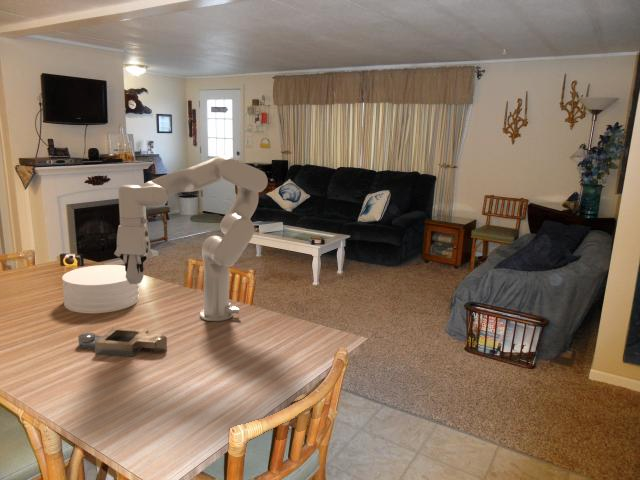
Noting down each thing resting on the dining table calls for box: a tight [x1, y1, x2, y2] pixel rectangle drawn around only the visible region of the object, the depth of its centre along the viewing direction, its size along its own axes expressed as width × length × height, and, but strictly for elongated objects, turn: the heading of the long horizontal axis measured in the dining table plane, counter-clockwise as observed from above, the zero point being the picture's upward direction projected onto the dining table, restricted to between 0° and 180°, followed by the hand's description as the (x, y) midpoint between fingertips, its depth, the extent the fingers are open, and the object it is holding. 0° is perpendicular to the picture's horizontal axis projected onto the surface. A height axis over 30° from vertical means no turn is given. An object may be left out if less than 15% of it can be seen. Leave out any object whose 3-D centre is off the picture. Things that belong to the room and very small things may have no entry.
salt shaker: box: [126, 255, 144, 284], centre depth 163 cm, size 6×6×13 cm
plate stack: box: [61, 264, 140, 314], centre depth 193 cm, size 28×28×12 cm
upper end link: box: [95, 326, 168, 354], centre depth 153 cm, size 20×12×4 cm, turn 86°
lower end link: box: [77, 332, 143, 358], centre depth 154 cm, size 20×12×3 cm, turn 86°
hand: (134, 273), depth 163 cm, fingers closed on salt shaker, 3 cm apart
